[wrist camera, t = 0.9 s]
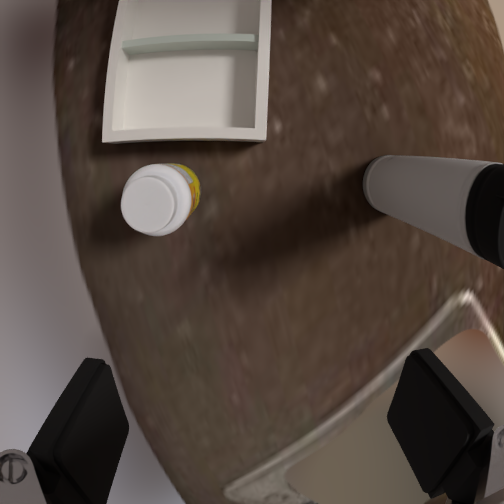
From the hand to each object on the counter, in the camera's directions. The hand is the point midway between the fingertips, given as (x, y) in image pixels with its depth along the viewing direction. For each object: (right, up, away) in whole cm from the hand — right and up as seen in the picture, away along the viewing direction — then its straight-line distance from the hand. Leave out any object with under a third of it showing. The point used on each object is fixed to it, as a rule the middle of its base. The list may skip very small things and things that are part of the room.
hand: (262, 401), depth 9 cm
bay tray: (-6, +25, +17) cm, 31 cm away
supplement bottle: (-8, +11, +22) cm, 25 cm away
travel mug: (+14, +12, +22) cm, 29 cm away
